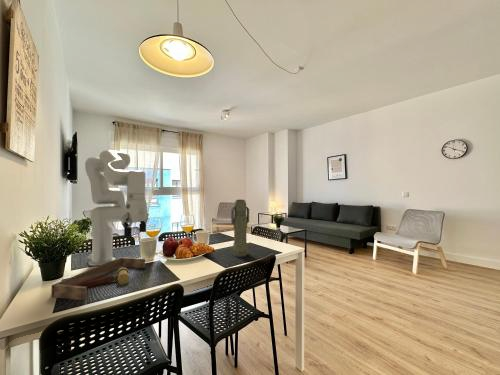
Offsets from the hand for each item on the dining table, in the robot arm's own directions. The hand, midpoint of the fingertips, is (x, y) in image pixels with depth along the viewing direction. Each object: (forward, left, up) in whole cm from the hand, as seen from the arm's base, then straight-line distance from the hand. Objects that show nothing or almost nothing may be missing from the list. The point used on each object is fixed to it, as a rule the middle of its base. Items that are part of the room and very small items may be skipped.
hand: (135, 233), depth 100 cm
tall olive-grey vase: (+40, +45, -21) cm, 64 cm away
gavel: (-11, -7, -22) cm, 25 cm away
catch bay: (-12, -3, -21) cm, 24 cm away
